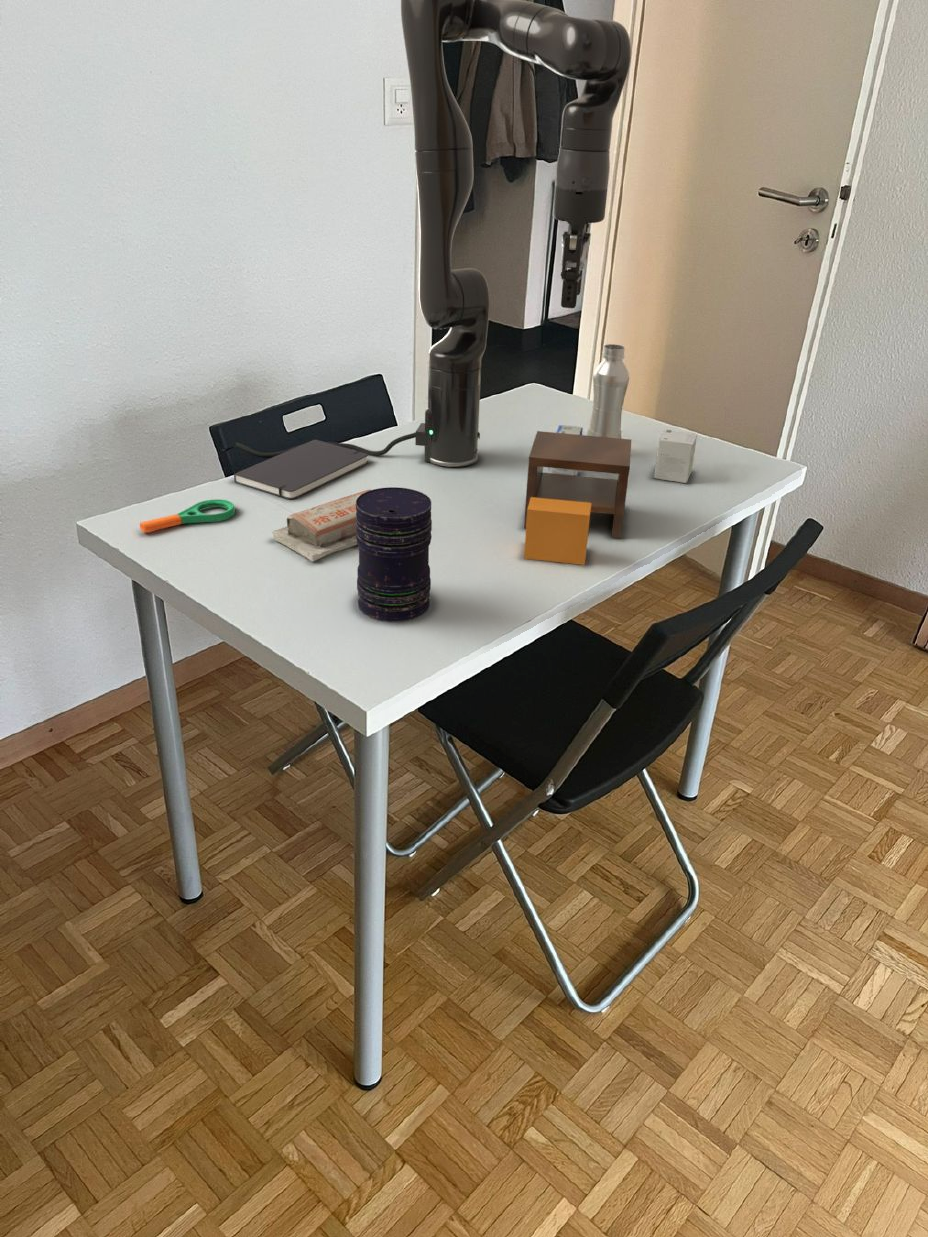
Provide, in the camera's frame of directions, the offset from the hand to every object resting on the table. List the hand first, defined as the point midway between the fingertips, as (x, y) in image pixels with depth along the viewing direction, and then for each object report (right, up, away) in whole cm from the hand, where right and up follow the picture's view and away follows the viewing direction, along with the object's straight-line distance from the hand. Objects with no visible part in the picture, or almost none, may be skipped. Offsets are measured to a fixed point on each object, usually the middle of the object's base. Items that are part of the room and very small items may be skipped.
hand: (570, 300), depth 147 cm
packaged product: (-35, -35, +3) cm, 50 cm away
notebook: (-44, -22, +24) cm, 55 cm away
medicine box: (+2, -24, +25) cm, 35 cm away
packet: (-2, -38, -1) cm, 38 cm away
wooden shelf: (+2, -32, +11) cm, 34 cm away
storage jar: (-26, -46, -15) cm, 55 cm away
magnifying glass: (-59, -33, +5) cm, 68 cm away
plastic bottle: (+10, -17, +37) cm, 42 cm away
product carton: (+21, -22, +29) cm, 42 cm away
